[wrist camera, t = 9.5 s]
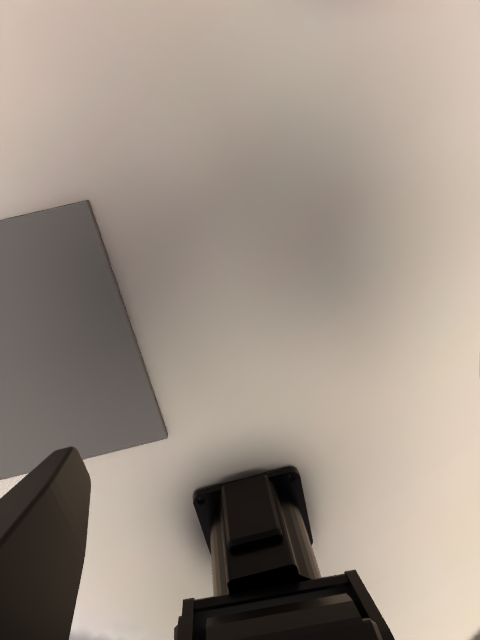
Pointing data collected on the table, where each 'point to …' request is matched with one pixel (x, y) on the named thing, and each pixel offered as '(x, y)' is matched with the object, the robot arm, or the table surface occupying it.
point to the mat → (66, 345)
